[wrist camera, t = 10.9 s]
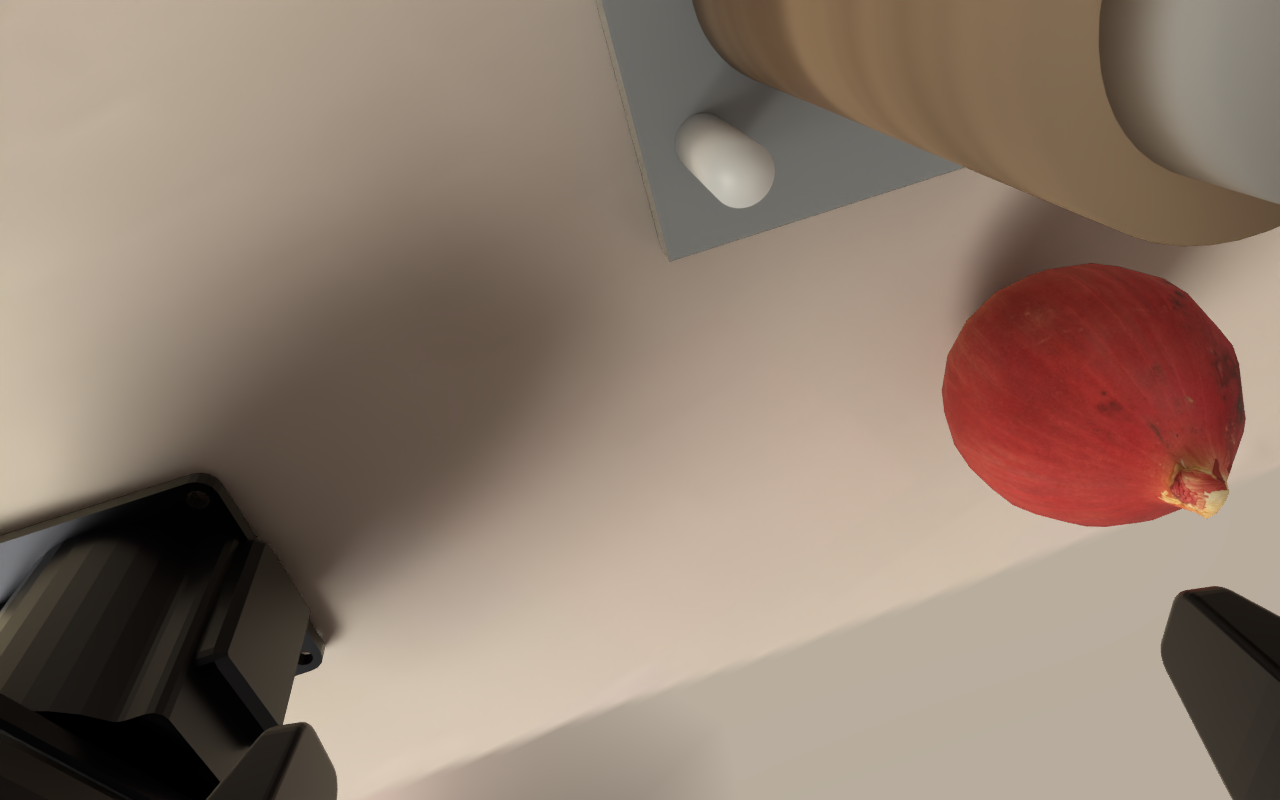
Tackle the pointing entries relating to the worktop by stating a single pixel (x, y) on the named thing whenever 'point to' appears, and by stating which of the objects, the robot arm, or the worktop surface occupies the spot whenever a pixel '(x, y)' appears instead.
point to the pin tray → (736, 137)
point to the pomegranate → (1096, 397)
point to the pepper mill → (1049, 96)
